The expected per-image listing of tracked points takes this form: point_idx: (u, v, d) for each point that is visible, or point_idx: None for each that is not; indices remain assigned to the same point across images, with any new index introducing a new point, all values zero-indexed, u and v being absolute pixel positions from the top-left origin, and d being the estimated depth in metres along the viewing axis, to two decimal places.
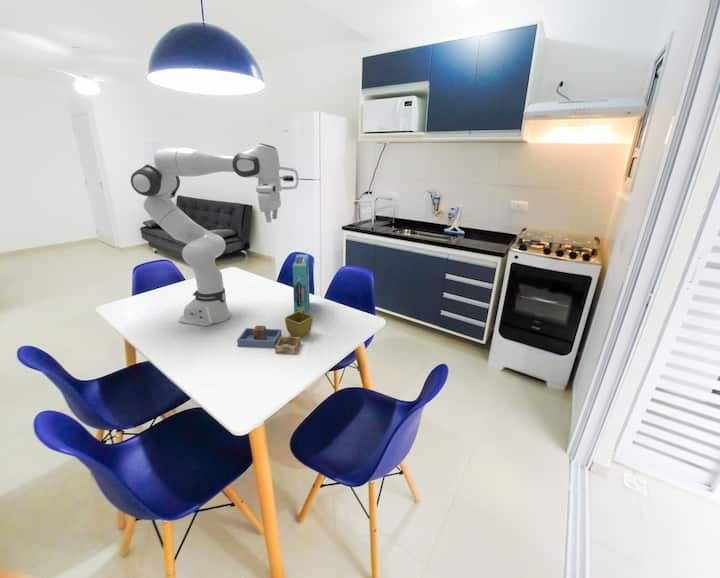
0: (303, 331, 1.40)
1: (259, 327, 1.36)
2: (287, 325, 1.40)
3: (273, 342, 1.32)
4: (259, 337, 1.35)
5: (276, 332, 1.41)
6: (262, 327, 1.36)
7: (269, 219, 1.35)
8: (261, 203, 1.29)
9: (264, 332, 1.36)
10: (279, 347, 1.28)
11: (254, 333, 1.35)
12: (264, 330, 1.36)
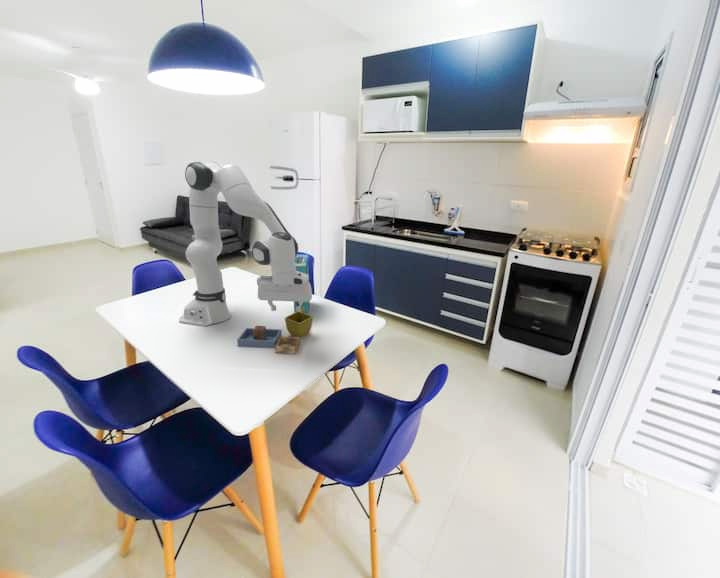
0: (303, 331, 1.40)
1: (259, 327, 1.36)
2: (287, 325, 1.40)
3: (273, 342, 1.32)
4: (259, 337, 1.35)
5: (276, 332, 1.41)
6: (262, 327, 1.36)
7: None
8: (310, 293, 1.23)
9: (264, 332, 1.36)
10: (279, 347, 1.28)
11: (254, 333, 1.35)
12: (264, 330, 1.36)
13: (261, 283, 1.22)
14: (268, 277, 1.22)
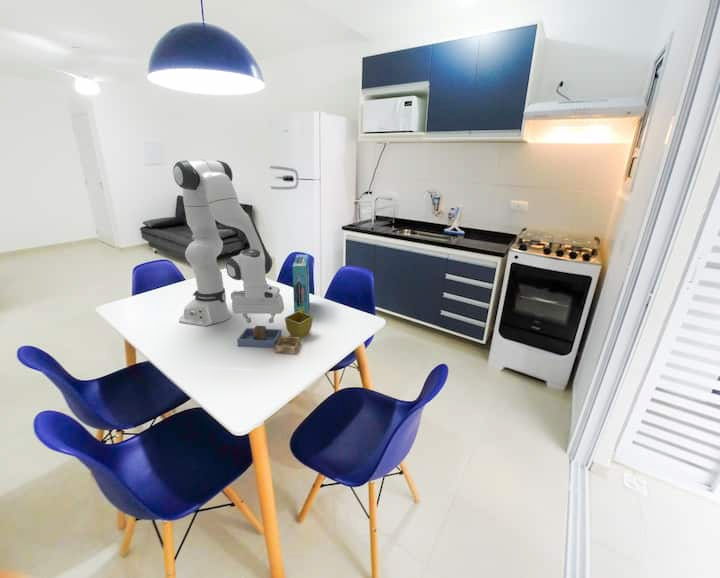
0: (303, 331, 1.40)
1: (259, 327, 1.36)
2: (287, 325, 1.40)
3: (273, 342, 1.32)
4: (259, 337, 1.35)
5: (276, 332, 1.41)
6: (262, 327, 1.36)
7: (273, 319, 1.34)
8: (281, 305, 1.30)
9: (264, 332, 1.36)
10: (279, 347, 1.28)
11: (254, 333, 1.35)
12: (264, 330, 1.36)
13: (234, 297, 1.29)
14: (241, 292, 1.30)
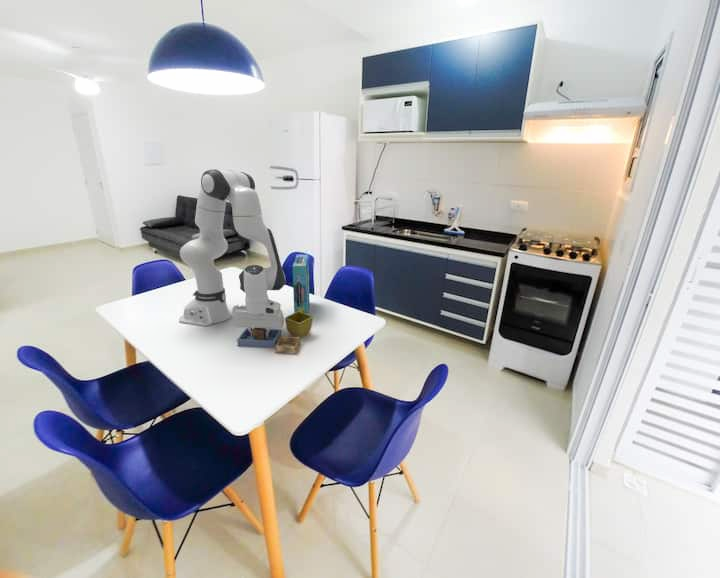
0: (303, 331, 1.40)
1: None
2: (287, 325, 1.40)
3: (273, 342, 1.32)
4: (259, 337, 1.35)
5: (276, 332, 1.41)
6: None
7: (268, 333, 1.37)
8: (281, 320, 1.33)
9: (264, 332, 1.36)
10: (279, 347, 1.28)
11: (254, 333, 1.35)
12: (264, 330, 1.36)
13: (236, 312, 1.32)
14: (242, 306, 1.32)
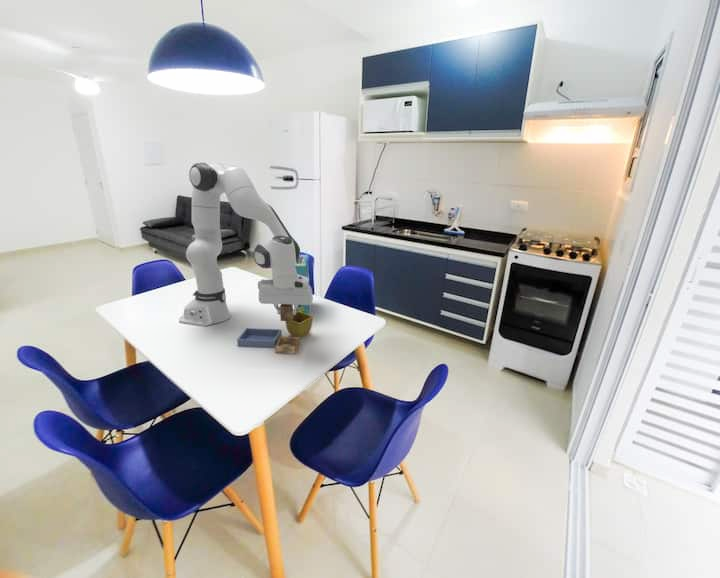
0: (303, 331, 1.40)
1: (286, 304, 1.27)
2: (287, 325, 1.40)
3: (273, 342, 1.32)
4: (286, 314, 1.25)
5: (276, 332, 1.41)
6: (289, 304, 1.27)
7: (295, 310, 1.28)
8: (311, 296, 1.24)
9: (291, 309, 1.26)
10: (279, 347, 1.28)
11: (281, 310, 1.25)
12: (291, 307, 1.27)
13: (262, 286, 1.22)
14: (269, 280, 1.23)
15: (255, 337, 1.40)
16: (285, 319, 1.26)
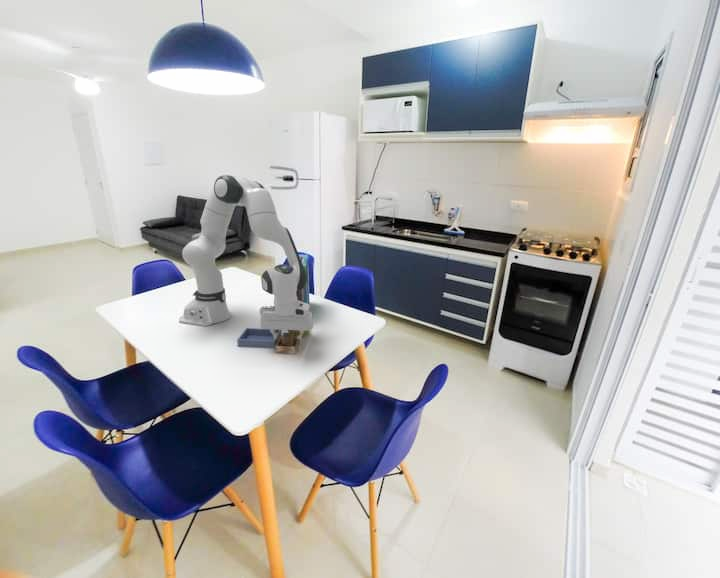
0: None
1: (287, 334, 1.31)
2: None
3: (273, 342, 1.32)
4: (288, 344, 1.30)
5: (276, 332, 1.41)
6: (290, 334, 1.31)
7: (301, 335, 1.31)
8: (311, 322, 1.27)
9: (292, 340, 1.31)
10: (279, 347, 1.28)
11: (283, 340, 1.30)
12: (293, 337, 1.31)
13: (264, 313, 1.26)
14: (271, 307, 1.26)
15: (255, 337, 1.40)
16: None
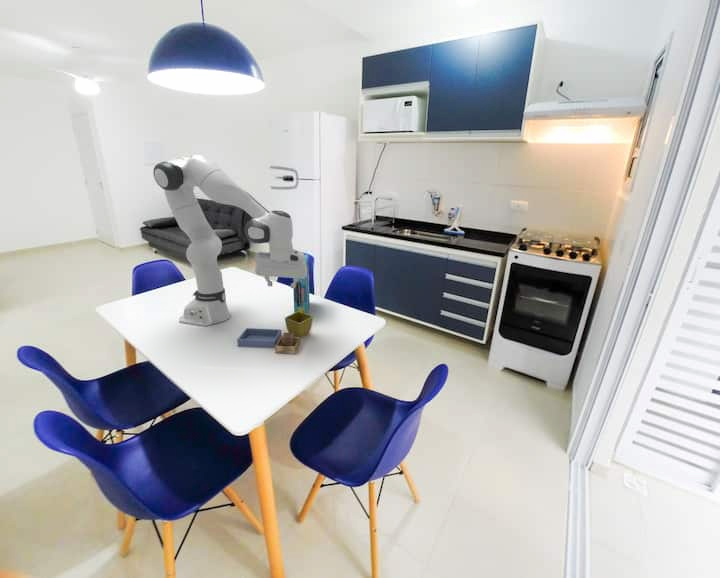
0: (303, 331, 1.40)
1: (287, 334, 1.31)
2: (287, 325, 1.40)
3: (273, 342, 1.32)
4: (288, 344, 1.30)
5: (276, 332, 1.41)
6: (290, 334, 1.31)
7: None
8: (305, 270, 1.29)
9: (292, 340, 1.31)
10: (279, 347, 1.28)
11: (283, 340, 1.30)
12: (293, 337, 1.31)
13: (259, 259, 1.28)
14: (266, 253, 1.28)
15: (255, 337, 1.40)
16: None
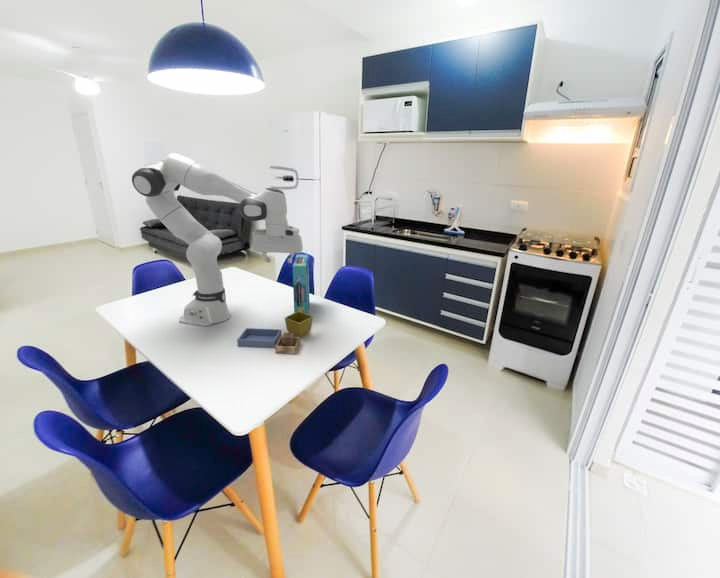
0: (303, 331, 1.40)
1: (287, 334, 1.31)
2: (287, 325, 1.40)
3: (273, 342, 1.32)
4: (288, 344, 1.30)
5: (276, 332, 1.41)
6: (290, 334, 1.31)
7: (291, 259, 1.39)
8: (300, 244, 1.35)
9: (292, 340, 1.31)
10: (279, 347, 1.28)
11: (283, 340, 1.30)
12: (293, 337, 1.31)
13: (256, 235, 1.34)
14: (262, 230, 1.34)
15: (255, 337, 1.40)
16: None
